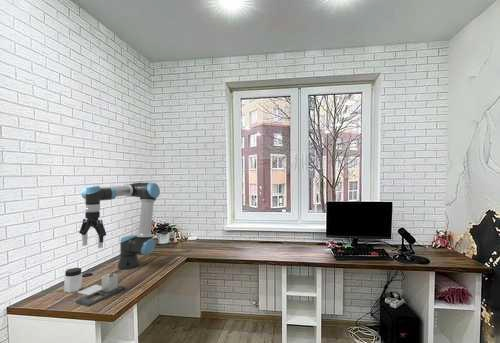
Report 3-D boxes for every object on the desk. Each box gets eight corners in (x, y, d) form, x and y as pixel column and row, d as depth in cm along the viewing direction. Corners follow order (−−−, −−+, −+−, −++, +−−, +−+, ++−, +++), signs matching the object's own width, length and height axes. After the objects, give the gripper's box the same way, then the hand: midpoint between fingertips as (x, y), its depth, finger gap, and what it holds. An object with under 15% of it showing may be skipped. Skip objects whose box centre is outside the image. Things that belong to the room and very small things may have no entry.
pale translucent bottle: (110, 289, 162) (110, 271, 162) (117, 291, 159) (117, 272, 160) (101, 293, 156) (101, 274, 156) (108, 295, 154) (109, 276, 154)
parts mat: (95, 285, 168) (95, 284, 168) (106, 287, 164) (106, 287, 164) (76, 292, 157) (76, 292, 157) (88, 295, 153) (88, 294, 153)
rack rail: (113, 286, 166) (113, 284, 166) (125, 289, 162) (125, 287, 162) (75, 303, 144) (75, 300, 144) (88, 306, 140) (88, 304, 140)
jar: (69, 287, 164) (69, 267, 165) (83, 286, 166) (84, 267, 166) (61, 293, 155) (62, 272, 156) (77, 292, 157) (77, 272, 157)
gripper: (72, 210, 161) (72, 245, 161) (101, 213, 152) (101, 250, 152) (84, 209, 168) (84, 242, 168) (113, 211, 159) (112, 247, 159)
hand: (92, 246), depth 160 cm, fingers open, 13 cm apart
